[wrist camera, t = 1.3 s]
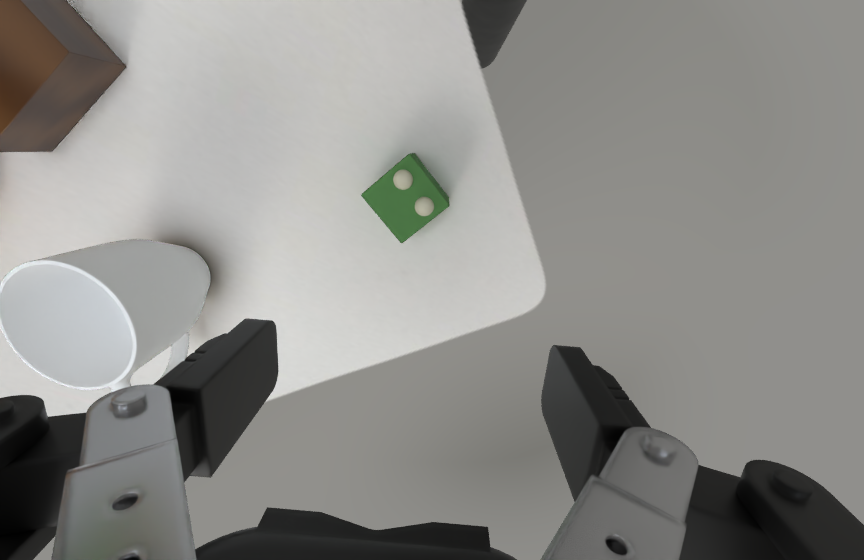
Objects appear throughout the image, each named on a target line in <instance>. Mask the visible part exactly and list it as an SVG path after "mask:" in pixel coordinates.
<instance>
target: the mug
mask: <svg viewBox="0 0 864 560" xmlns="http://www.w3.org/2000/svg"><path fill="white" fill-rule="evenodd" d="M210 281H211V276H210V271H209V268H208V266H207V264H206V262H205V261H204V259H203V258H202V257H201V256H200V255H199V254H198V253H196V252H195V251H193V250H192V249H189V248H187V247H184V246H179V245H173V244H168V243H163V242H157V241H152V240H142V239H133V240H122V241H116V242H110V243H105V244H101V245H96V246H92V247H88V248H84V249H79V250H75V251H71V252H67V253H63V254H59V255H55V256H51V257H47V258H43V259H38V260H34V261H30V262H26V263H23V264H21V265H19V266H17V267H15V268H14V269H12V270H11V271H10V272H9V273H8V274H7V275H6V276H5V277H4V279H3V280H2V282H1V284H0V328H1V330H2V332H3V335H4V337H5V338H6V340H7V342H8V343H9V345H10V346H11V348H12V349H13V350H14V352H15V353H16V354H17V355H18V356H19V357H20V358H21V359H22V360H23V361H24V362H25V363H26V364H27V365H28V366H29V367H30V368H32V369H33V370H34V371H36V372H37V373H39V374H40V375H42V376H43V377H45V378H47V379H49V380H51V381H53V382H55V383H57V384H60V385H63V386H66V387H69V388H74V389H80V390H97V389H103V388H107V387H108V388H110V389H111V390H112V391H111V392H114V391H116V390H119V389H122V388H126V387H130V386H131V384H130V378H131V376H132V375H133V373H134V372H135V371H136V370H137V369H139V368H140V367H141V366H143V365H144V364H146V363H147V362H148V361H150V360H151V359H153V358H154V357H155V356H157V355H158V354H160V353H161V352H163V351H164V350H165V349H167V348H168V347H169V346H171V345H172V348H171V354H170V359H169V362H168V365H167V368H166V370H165V372H164V373H163V375H162V377H163V376H164V375H166V374H167V373H168V372H169V371H171V370H172V369H173V368H174V367H176V366H177V365H178V364H179V363H181V362H182V361H185V358H186V357H187V353H188V347H189V332H188V331H189V330H190V329H191V327H192V326H193V325H194V324H195V322H196V321H197V319H198V317H199V316H200V313H201V311H202V308H203V305H204V302H205V299H206V296H207V292H208V289H209V286H210ZM162 377H161V378H162ZM161 378H160V379H161Z"/></svg>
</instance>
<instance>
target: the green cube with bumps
mask: <svg viewBox="0 0 864 560" xmlns="http://www.w3.org/2000/svg"><path fill="white" fill-rule="evenodd" d="M361 196H362V197H363V198H364V199H365V201H366V202H367V203H368V204H369V205H370V207H371V208H372V209H373V210H374V211H375V213H376V214H377V215H378V216H379V217H380V219H381V220H382V221H383V222H384V223H385V225H386V226H387V227H388V228H389V229H390V231H391V232H392V233H393V234H394V235H395V237H396V238H397V239H398V240H399V241H400V243H403V242H404V241H406V240H407V239H408V238H409V237H411V236H412V235H413V234H414V233H416V232H417V231H418V230H419V229H421V228H422V227H423V226H425V225H426V224H427V223H428V222H430V221H431V220H432V219H433V218H435V217H436V216H437V215H438V214H440V213H441V212H442V211H443V210H445V209H446V208H447V207H449V197H448V196H447V194H446V193H445V192H444V191H443V189H442V188H441V187H440V185H439V184H438V183H437V182H436V180H435V179H434V178H433V176H432V175H431V174H430V172H429V171H428V170H427V169H426V167H425V166H424V165H423V163H422V162H421V161H420V160H419V158H418V157H417V156H416V154H415V153H412V154H408V155H407V156H406V157H405V158H403V159H402V160H401V161H400V162H399V163H398V164H396V165H395V166H394V167H393V168H392V169H391V170H389V171H388V172H387V173H386V174H385V175H384V176H382V177H381V178H380V179H379V180H378V181H376V182H375V183H374V184H373V185H372V186H371V187H369V188H368V189H367V190H366V191H365V192H364V193H362V195H361Z"/></svg>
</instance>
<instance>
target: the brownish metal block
mask: <svg viewBox="0 0 864 560" xmlns="http://www.w3.org/2000/svg"><path fill="white" fill-rule="evenodd" d="M125 67H126V66H125V65H124V64H123V63H122V61H121V60H120V59H119V58H118V57H117V56H116V55H115V54H114V53H113V52H112V50H111V49H110V48H109V47H108V46H107V45H106V44H105V43H104V42H103V41H102V40H101V38H100V37H99V36H98V35H97V34H96V33H95V32H94V31H93V30H92V29H91V28H90V26H89V25H88V24H87V23H86V22H85V21H84V20H83V19H82V18H81V17H80V15H79V14H78V13H77V12H76V11H75V10H74V9H73V8H72V7H71V6H70V5H69V3H68V2H67V1H66V0H0V152H51V151H53V150H54V148H55V147H56V146H57V145H58V144H59V143H60V142H61V140H62V139H63V138H64V137H65V136H66V135H67V134H68V132H69V131H70V130H71V129H72V128H73V127H74V126H75V125H76V123H77V122H78V121H79V120H80V119H81V118H82V117H83V115H84V114H85V113H86V112H87V111H88V110H89V109H90V107H91V106H92V105H93V104H94V103H95V102H96V101H97V99H98V98H99V97H100V96H101V95H102V94H103V93H104V91H105V90H106V89H107V88H108V87H109V86H110V85H111V83H112V82H113V81H114V80H115V79H116V78H117V77H118V75H119V74H120V73H121V72H122V71H123V70H124V69H125Z"/></svg>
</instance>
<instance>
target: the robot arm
mask: <svg viewBox="0 0 864 560" xmlns="http://www.w3.org/2000/svg"><path fill="white" fill-rule="evenodd" d="M277 377H278V354H277V333H276V325H275V323H274V322H273V321H269V320H258V319H244V320H243V321H242V322H241V323H239V324H238V325H237V326H236V327H235V328H234V329H232V330H231V331H230V332H229V333H228V334H225V333H224V334H222V335H220V336H218V337H215V338H213V339H211V340H208V341H207V342H205V343H204V344H203V345H202V346H200V347H199V348H198V349H197V350H195V353H192V354H190V355H189V356H188V357H187V358H185V361H182V362H181V363H179V364H178V365H177V366H176V367H174V368H173V369H172V370H171V371H169V372H168V373H167V374H166V375H164V376H163V377H162V378H161V379H159V380H158V381H157V382H156V383H155V384H153V385H149V384H148V385H136V386H130V387H126V388H122V389H119V390H116V391H114V392H111V393H109V394H107V395H105V396H103V397H101V398H100V399H98V400H97V401H95V402H94V403H93V404H92V405H91V406H90V407H89V409H88V410H87V413H79V414H70V415H61V416H52V417H47V413H46V409H45V405H44V401H43V400H42V399H41V398H39V397H36V396H30V395H18V396H9V397H4V398H0V560H33V559H34V558H35V557H36V556H37V555H38V553H40V551H41V550H42V549H43V548H44V547H45V546H46V545H47V544H48V543H49V542H50V541H51V540H52V538H54V537H55V542H54V547H53V554H52V560H517V559H515V558H514V557H512V556H510V555H508V554H505V553H504V552H501V551H499V550H497V549H494V548H491V547H490V541H489V532H488V527H482V526H471V525H460V524H449V523H437V522H431V523H425V524H418V525H411V526H405V527H397V528H391V529H384V530H372V529H368V528H365V527H362V526H359V525H357V524H353V523H351V522H348V521H345V520H342V519H339V518H336V517H333V516H331V515H328V514H325V513H322V512H313V511H300V510H290V509H279V508H278V509H277V508H267V509H266V511H265V513H264V515H263V517H262V519H261V521H260V523H259V525H258V527H254V528H249V529H245V530H240V531H236V532H233V533H230V534H228V535H225V536H222V537H220V538H217V539H215V540H213V541H211V542H208V543H206V544H205V545H203V546H201V547H199V548H197V549H195V546H194V540H193V534H192V527H191V521H190V515H189V509H188V503H187V496H186V490H185V485H184V482H185V481H186V479H187V478H188V477H189V476H198V477H211V476H212V475H213V474H214V472H215V471H216V469H217V468H218V467H219V465H220V464H221V463H222V461H223V460H224V458H225V457H226V456H227V454H228V453H229V451H230V450H231V449H232V447H233V446H234V444H235V443H236V441H237V440H238V439H239V437H240V436H241V435H242V433H243V432H244V430H245V429H246V427H247V426H248V425H249V423H250V422H251V421H252V419H253V418H254V416H255V415H256V414H257V412H258V411H259V409H260V408H261V407H262V405H263V404H264V402H265V401H266V400H267V398H268V397H269V395H270V394H271V393H272V391H273V389H274V387H275V385H276V381H277ZM541 401H542V412H543V416H544V419H545V421H546V424H547V427H548V430H549V432H550V435H551V438H552V440H553V444H554V446H555V449H556V452H557V454H558V457H559V460H560V463H561V466H562V468H563V471H564V473H565V477H566V479H567V482H568V485H569V488H570V490H571V493H572V496H573V499H574V501H575V503H574V504H573V506H572V508H571V510H570V511H569V513H568V514H567V516H566V518H565V519H564V521H563V523H562V524H561V526H560V528H559V529H558V531H557V533H556V535H555V536H554V538H553V540H552V541H551V543H550V545H549V546H548V548H547V550H546V551H545V553H544V555H543V556H542V558H541V560H864V525H863V524H862V523H861V522H860V521H859V520H858V519H857V518H856V517H855V516H854V515H852V513H851V512H849V511H848V510H847V509H846V508H845V507H844V506H843V505H842V504H841V503H840V502H839V501H838V500H837V499H836V498H835V497H834V496H833V495H832V494H831V493H830V492H828V491H827V490H826V489H825V488H824V487H823V486H821V485H820V484H819V483H817V482H816V481H814V480H812V479H811V478H810V477H808V476H806V475H804V474H803V473H801V472H798V471H797V470H794V469H792V468H790V467H787V466H785V465H782V464H779V463H775V462H771V461H766V460H753V461H750V462H748V463H747V464H746V465H745V468H744V470H743V473H742V475H741V478H740V477H737V476H734V475H730V474H726V473H723V472H720V471H717V470H713V469H710V468H706V467H703V466H700V465H698V460H697V458H696V456H695V454H694V453H693V452H692V450H690V449H689V447H688V446H686V445H685V444H684V443H683V442H681V441H680V440H678V439H677V438H675V437H673V436H671V435H669V434H667V433H665V432H662V431H660V430H656V429H653V428H651V427H650V426H649V424H648V423H647V422H646V420H645V419H644V418H643V416H642V415H641V413H640V412H639V411H638V410H637V408H636V407H635V405H634V404H633V403H632V401H631V400H629V397H628V396H627V394H626V393H625V392H624V391H623V390H622V387H621V386H620V385H619V384H618V382H617V381H616V379H615V378H614V377H613V376H612V375H611V374H609V373H608V372H606V371H605V370H604V369H602V368H601V367H600V366H594V365H592V364H591V362H590V361H589V359H588V358H587V356H586V355H585V353H584V352H583V350H582V349H581V348H580V347H570V346H557V345H553V346H552V348H551V350H550V353H549V359H548V364H547V370H546V374H545V380H544V385H543V390H542V399H541ZM55 535H56V536H55Z"/></svg>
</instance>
